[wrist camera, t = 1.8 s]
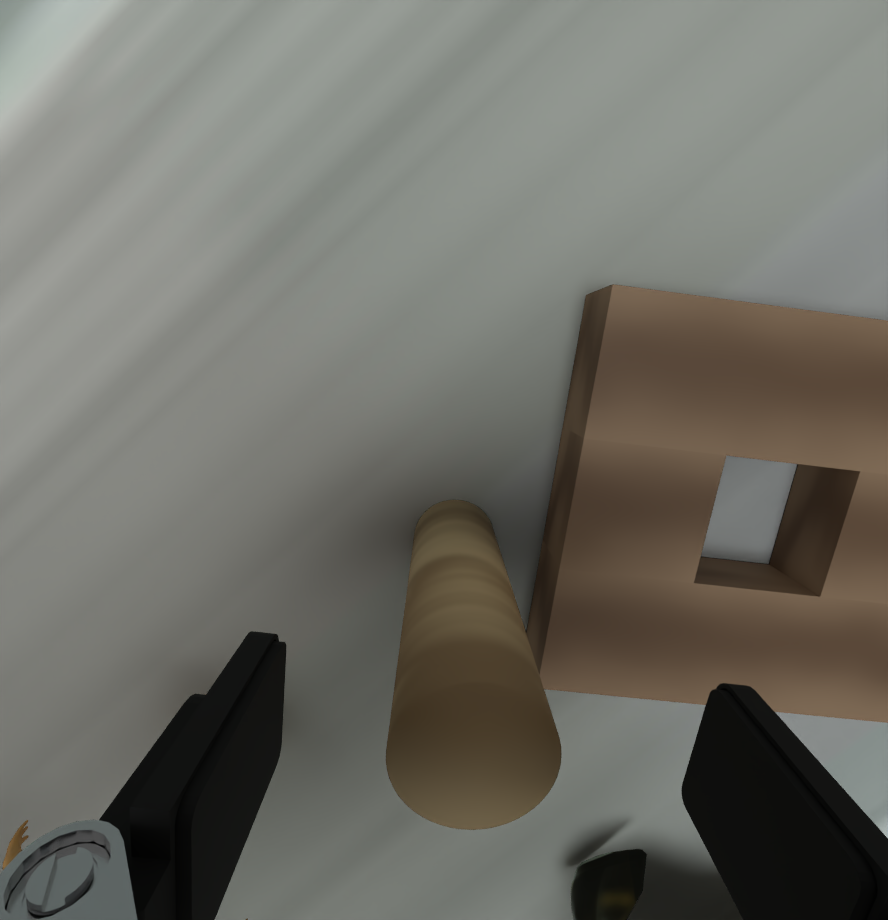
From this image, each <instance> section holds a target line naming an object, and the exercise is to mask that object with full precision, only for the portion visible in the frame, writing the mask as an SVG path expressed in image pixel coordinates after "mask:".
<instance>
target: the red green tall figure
mask: <svg viewBox="0 0 888 920" xmlns="http://www.w3.org/2000/svg"><path fill="white" fill-rule="evenodd" d="M646 856H647V854H646V853H645V852H644V851H643V850H641V849H633V850H624V851H617V852H611V853H606V854H602V855H599V856H596V857H594V858H591V859H588V860H586V861H583V862H582V863H581V864H580V865H579V866H578V867H577V870H576V873H575V876H574V879H573V882H572V886H571V908H572V914H573V918H574V920H627V918H628V916H629V915H630V913H631V911H632V909H633V907H634V905H635V904H636V902H637V900H638V898H639V896H640V895H641V893H642V891H643V882H644V873H645V865H646Z"/></svg>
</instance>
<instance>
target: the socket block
mask: <svg viewBox="0 0 888 920" xmlns="http://www.w3.org/2000/svg"><path fill="white" fill-rule="evenodd" d="M726 455H727V456H735V457H744V458H752V459H761V460H769V461H777V462H786V463H794V464H798V467H797V470H796V473H795V477H794V480H793V484H792V487H791V491H790V494H789V498H788V501H787V505H786V508H785V511H784V515H783V518H782V522H781V525H780V529H779V532H778V536H777V539H776V543H775V546H774V549H773V553H772V556H771V560H770V563H769V564H761V563H751V562H742V561H733V560H724V559H715V558H706V557H701V553H702V549H703V545H704V541H705V537H706V533H707V529H708V525H709V521H710V518H711V514H712V510H713V506H714V502H715V498H716V494H717V490H718V486H719V482H720V478H721V474H722V471H723V467H724V463H725V459H726ZM526 634H527V637H528V641H529V644H530V647H531V650H532V653H533V656H534V660H535V663H536V666H537V669H538V672H539V675H540V678H541V682H542V685H543V688H544V689H548V690H559V691H569V692H579V693H589V694H600V695H610V696H620V697H630V698H640V699H651V700H661V701H671V702H681V703H692V704H702V705H706V703H707V700H708V697H709V694H710V692H711V691H712V690H713V689H716V688H717V686H718V685H719V684H721V683H728V684H737V685H746V686H750V687H752V688H753V689H754V690H755V691H756V692H757V693H758V694H759V695H760V696H761V697H762V699H763V700H764V701H765V702H766V703H767V704H768V705H769V706H770V707H771V709H772V710H773V711H774V712H784V713H794V714H804V715H814V716H825V717H835V718H845V719H855V720H865V721H876V722H886V723H888V321H885V320H878V319H870V318H863V317H855V316H848V315H840V314H833V313H825V312H817V311H810V310H802V309H795V308H787V307H780V306H772V305H764V304H757V303H749V302H742V301H734V300H727V299H719V298H712V297H704V296H696V295H689V294H681V293H674V292H666V291H659V290H651V289H643V288H636V287H628V286H621V285H610V286H608V287H605V288H603V289H600V290H598V291H595V292H593V293H590V294H588V295H586V299H585V304H584V310H583V316H582V321H581V327H580V333H579V338H578V344H577V350H576V355H575V361H574V367H573V372H572V378H571V384H570V389H569V395H568V400H567V406H566V412H565V417H564V423H563V429H562V434H561V440H560V446H559V451H558V457H557V463H556V468H555V474H554V480H553V485H552V491H551V497H550V502H549V508H548V514H547V519H546V525H545V530H544V536H543V542H542V547H541V553H540V559H539V564H538V570H537V576H536V581H535V587H534V593H533V598H532V604H531V610H530V615H529V621H528V627H527V632H526Z"/></svg>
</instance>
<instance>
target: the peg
mask: <svg viewBox="0 0 888 920" xmlns="http://www.w3.org/2000/svg"><path fill="white" fill-rule="evenodd" d="M560 764H561V744H560V739H559V735H558V732H557V729H556V726H555V723H554V719H553V716H552V713H551V710H550V707H549V704H548V701H547V697H546V694H545V691H544V688H543V685H542V682H541V678H540V675H539V672H538V669H537V666H536V663H535V660H534V656H533V653H532V650H531V647H530V644H529V641H528V637H527V634H526V631H525V628H524V625H523V622H522V619H521V615H520V612H519V609H518V606H517V603H516V600H515V596H514V593H513V590H512V587H511V584H510V581H509V578H508V574H507V571H506V568H505V565H504V562H503V559H502V555H501V552H500V549H499V546H498V543H497V540H496V537H495V533H494V530H493V527H492V524H491V522H490V520H489V518H488V517H487V515H486V514H485V513H484V512H483V511H482V510H481V509H480V508H479V507H477V506H475V505H474V504H471V503H469V502H466V501H461V500H447V501H443V502H440V503H437V504H435V505H433V506H432V507H430V508H429V509H428V510H427V511H425V513H424V514H423V515H422V516H421V518H420V519H419V521H418V523H417V525H416V528H415V533H414V541H413V549H412V556H411V564H410V572H409V579H408V587H407V595H406V603H405V610H404V618H403V626H402V633H401V641H400V649H399V656H398V664H397V672H396V680H395V687H394V695H393V703H392V710H391V718H390V726H389V734H388V741H387V749H386V765H387V772H388V775H389V779H390V781H391V783H392V785H393V788H394V789H395V791H396V792H397V794H398V796H399V797H400V798H401V799H402V800H403V802H404V803H405V804H406V805H407V806H408V807H410V808H411V809H412V810H413V811H414V812H416V813H417V814H419V815H420V816H422V817H424V818H426V819H428V820H429V821H431V822H434V823H437V824H439V825H443V826H447V827H450V828H457V829H468V830H476V829H487V828H492V827H497V826H500V825H504V824H507V823H509V822H511V821H514V820H516V819H518V818H520V817H522V816H523V815H525V814H527V813H528V812H529V811H531V810H532V809H534V808H535V807H536V806H537V805H538V804H539V803H540V802H541V801H542V800H543V799H544V798H545V796H546V795H547V794H548V793H549V791H550V790H551V788H552V786H553V785H554V783H555V780H556V778H557V776H558V772H559V769H560Z"/></svg>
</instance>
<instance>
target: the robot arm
mask: <svg viewBox="0 0 888 920" xmlns="http://www.w3.org/2000/svg"><path fill="white" fill-rule="evenodd" d="M285 664H286V643H285V642H279V638H278V635H277V634H271V633H262V632H253V631H252V632H249V633H248V635H247V636H246V637H245V639H244V640H243V642H242V643H241V645H240V646H239V648H238V649H237V651H236V652H235V654H234V655H233V656H232V658H231V659H230V661H229V662H228V664H227V665H226V667H225V668H224V670H223V671H222V673H221V674H220V675H219V677H218V678H217V680H216V681H215V683H214V684H213V686H212V687H211V689H210V690H209V691H208V693H207V694H206V695H201V694H194V695H192V696H190V697H189V698H188V699H187V701H186V702H185V703H184V704H183V706H182V707H181V708H180V710H179V711H178V713H177V714H176V715H175V717H174V718H173V719H172V721H171V722H170V723H169V725H168V726H167V728H166V729H165V730H164V732H163V733H162V734H161V736H160V737H159V739H158V740H157V741H156V743H155V744H154V745H153V747H152V748H151V750H150V751H149V752H148V754H147V755H146V756H145V758H144V759H143V760H142V762H141V763H140V765H139V766H138V767H137V769H136V770H135V771H134V773H133V774H132V776H131V777H130V778H129V780H128V781H127V782H126V784H125V785H124V787H123V788H122V789H121V791H120V792H119V793H118V795H117V796H116V797H115V799H114V800H113V802H112V803H111V804H110V806H109V807H108V808H107V810H106V811H105V813H104V814H103V815H102V817H101V818H100V819H99V820H85V821H76V822H73V823H70V824H67V825H64V826H61V827H58V828H56V829H54V830H53V831H51V832H49V833H47V834H45V835H43V836H41V837H40V838H38V839H36V840H35V841H34V842H33V843H31V844H30V845H29V846H27V847H26V848H25V849H23V850H22V851H21V852H19V853H18V854H17V856H16V857H15V858H14V859H13V860H12V861H11V862H10V863H9V864H8V865H7V866H6V867H5V868H4V869H3V871H2V872H1V874H0V920H214V919H215V917H216V915H217V912H218V910H219V907H220V905H221V902H222V900H223V897H224V895H225V892H226V890H227V887H228V885H229V882H230V880H231V877H232V875H233V872H234V870H235V867H236V865H237V862H238V860H239V857H240V855H241V852H242V850H243V847H244V845H245V843H246V840H247V838H248V835H249V833H250V830H251V828H252V825H253V823H254V820H255V818H256V815H257V813H258V810H259V808H260V805H261V803H262V800H263V798H264V795H265V793H266V790H267V788H268V785H269V783H270V780H271V778H272V775H273V773H274V771H275V768H276V765H277V763H278V759H279V756H280V751H281V744H282V725H283V704H284V684H285ZM682 799H683V802H684V805H685V808H686V810H687V812H688V813H689V815H690V817H691V819H692V821H693V823H694V825H695V827H696V829H697V831H698V833H699V835H700V837H701V839H702V841H703V842H704V844H705V846H706V848H707V850H708V852H709V854H710V856H711V858H712V860H713V862H714V864H715V866H716V868H717V870H718V872H719V873H720V875H721V877H722V879H723V881H724V883H725V885H726V887H727V889H728V891H729V893H730V895H731V897H732V899H733V901H734V902H735V904H736V906H737V908H738V910H739V912H740V914H741V916H742V918H743V920H888V838H887V837H886V836H885V835H884V834H883V833H882V832H881V831H880V829H879V828H878V827H877V826H876V825H875V824H874V823H873V822H872V820H871V819H870V818H869V817H868V816H867V815H866V814H865V813H864V812H863V810H862V809H861V808H860V807H859V806H858V805H857V804H856V803H855V801H854V800H853V799H852V798H851V797H850V796H849V795H848V794H847V793H846V791H845V790H844V789H843V788H842V787H841V786H840V785H839V784H838V782H837V781H836V780H835V779H834V778H833V777H832V776H831V775H830V773H829V772H828V771H827V770H826V769H825V768H824V767H823V766H822V765H821V763H820V762H819V761H818V760H817V759H816V758H815V757H814V756H813V754H812V753H811V752H810V751H809V750H808V749H807V748H806V747H805V746H804V744H803V743H802V742H801V741H800V740H799V739H798V738H797V737H796V735H795V734H794V733H793V732H792V731H791V730H790V729H789V728H788V726H787V725H786V724H785V723H784V722H783V721H782V720H781V719H780V718H779V716H778V715H777V714H776V713H775V712H774V711H773V710H772V709H771V707H770V706H769V705H768V704H767V703H766V702H765V701H764V700H763V699H762V697H761V696H760V695H759V694H758V693H757V692H756V691H755V690H754V689H753V688H752V687H750V686H746V685H737V684H728V683H721V684H719V685H718V686H717V688H716V689H713V690H712V691H711V692H710V694H709V697H708V700H707V703H706V707H705V710H704V713H703V717H702V720H701V723H700V727H699V730H698V734H697V737H696V740H695V744H694V747H693V750H692V754H691V757H690V761H689V764H688V767H687V771H686V774H685V777H684V781H683V784H682Z"/></svg>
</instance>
